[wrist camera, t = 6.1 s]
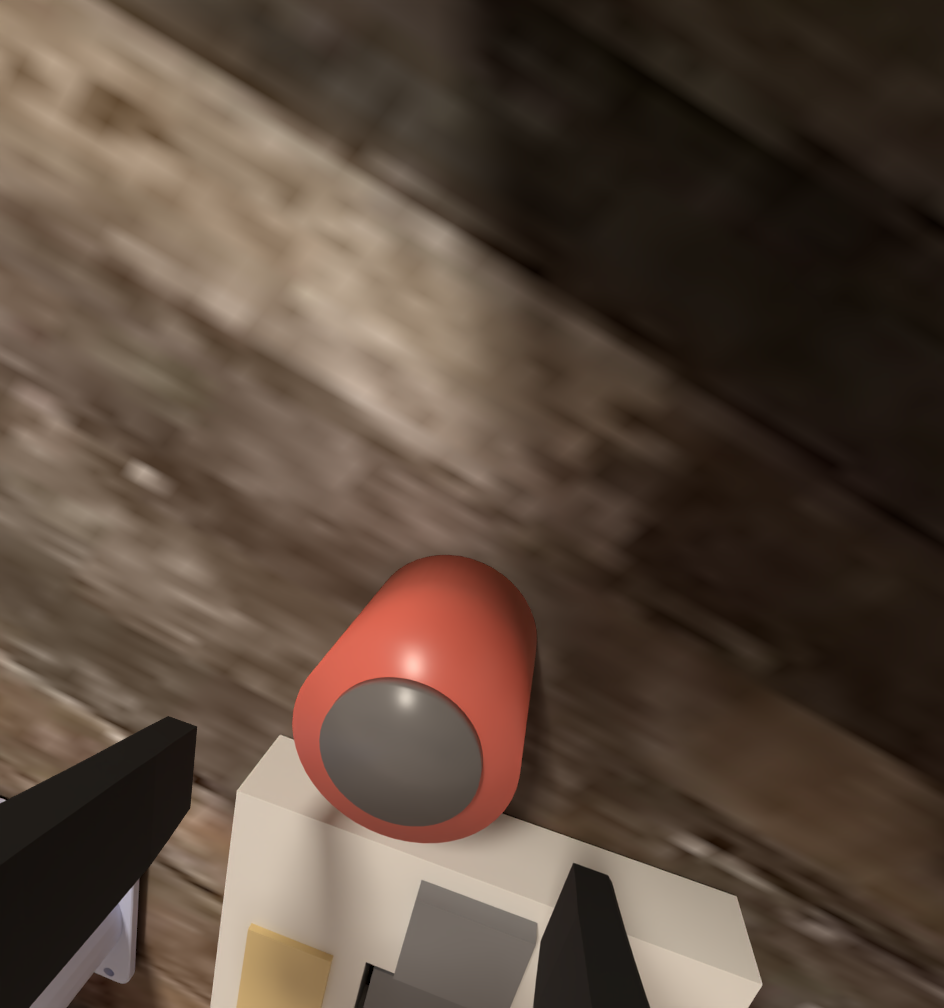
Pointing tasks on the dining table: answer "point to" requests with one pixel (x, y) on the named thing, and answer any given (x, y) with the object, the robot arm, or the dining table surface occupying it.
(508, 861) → the panel
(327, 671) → the cap
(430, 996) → the button
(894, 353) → the dining table surface
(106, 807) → the robot arm
